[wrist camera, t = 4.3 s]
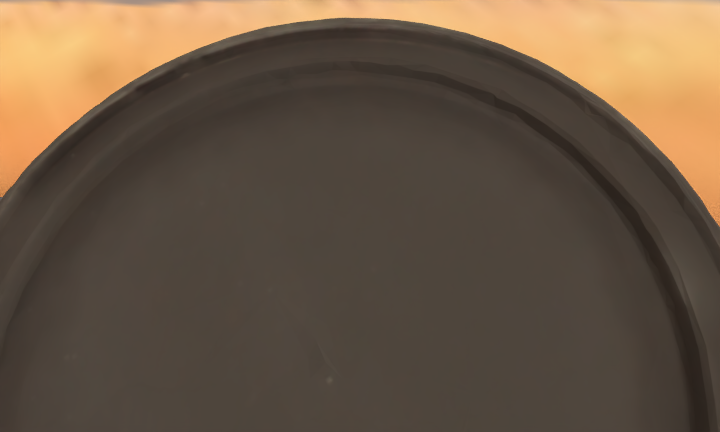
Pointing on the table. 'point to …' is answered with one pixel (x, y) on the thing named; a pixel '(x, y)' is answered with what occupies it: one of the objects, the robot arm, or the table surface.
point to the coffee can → (357, 250)
